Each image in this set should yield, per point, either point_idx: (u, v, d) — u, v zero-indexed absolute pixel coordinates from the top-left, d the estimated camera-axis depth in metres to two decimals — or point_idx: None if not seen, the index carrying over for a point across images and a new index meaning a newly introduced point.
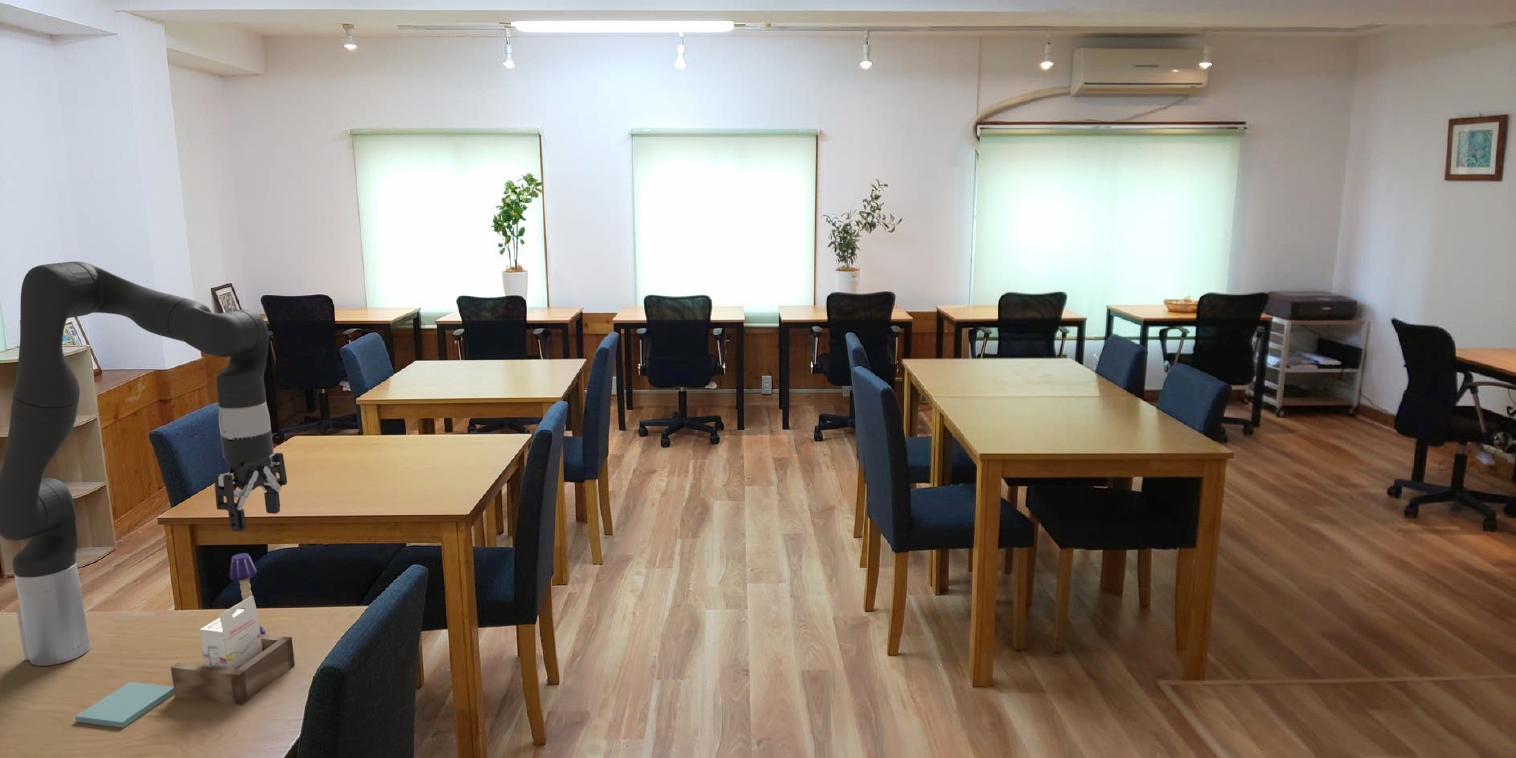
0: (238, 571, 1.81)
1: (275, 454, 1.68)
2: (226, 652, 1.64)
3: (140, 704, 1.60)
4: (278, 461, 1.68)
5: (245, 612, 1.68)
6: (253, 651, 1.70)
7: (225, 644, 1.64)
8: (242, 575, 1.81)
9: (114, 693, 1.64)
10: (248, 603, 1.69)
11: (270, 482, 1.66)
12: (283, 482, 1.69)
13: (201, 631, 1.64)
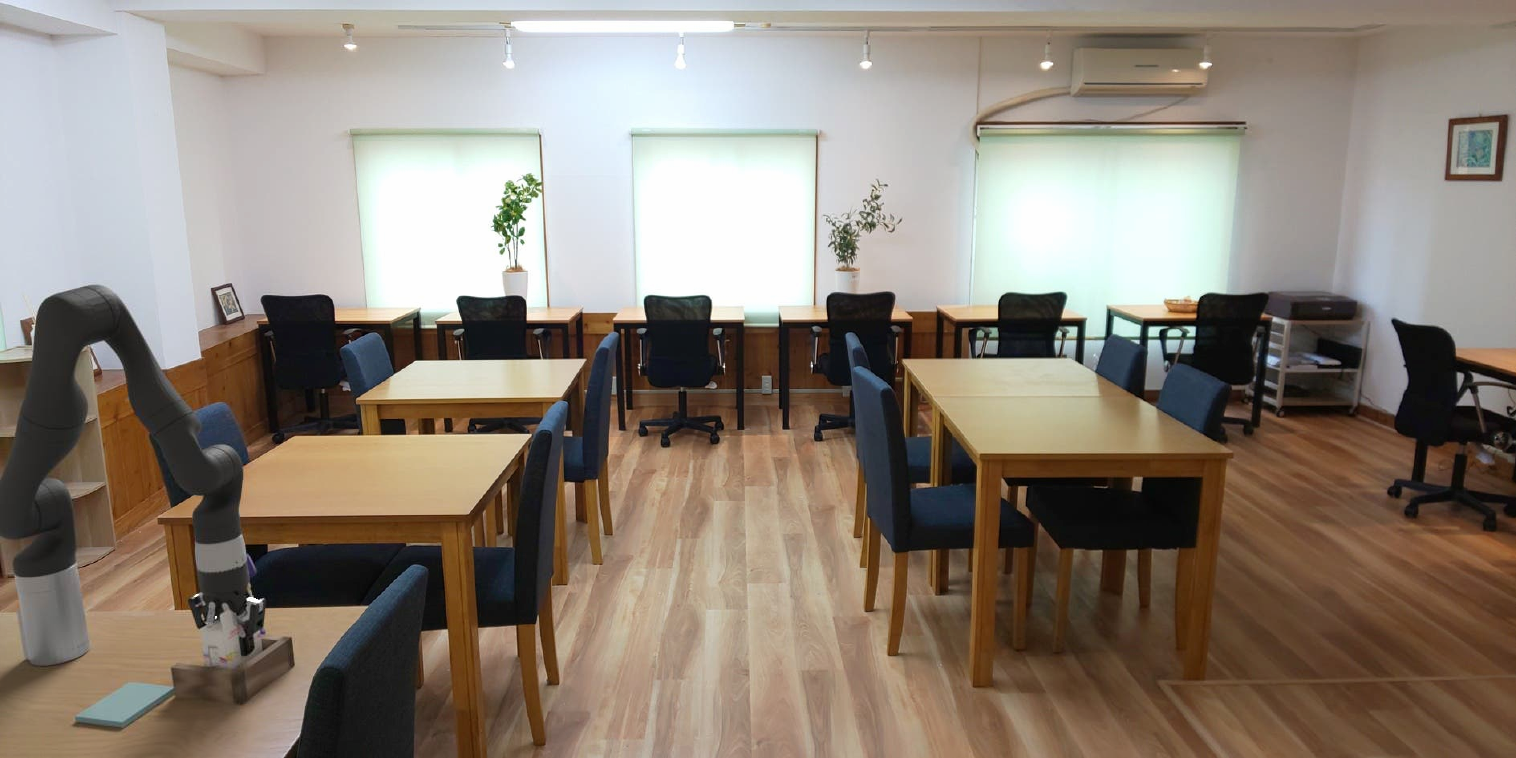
0: None
1: (199, 594, 1.68)
2: (226, 652, 1.64)
3: (140, 704, 1.60)
4: None
5: None
6: (253, 651, 1.70)
7: (225, 644, 1.64)
8: None
9: (114, 693, 1.64)
10: None
11: None
12: None
13: (201, 631, 1.64)
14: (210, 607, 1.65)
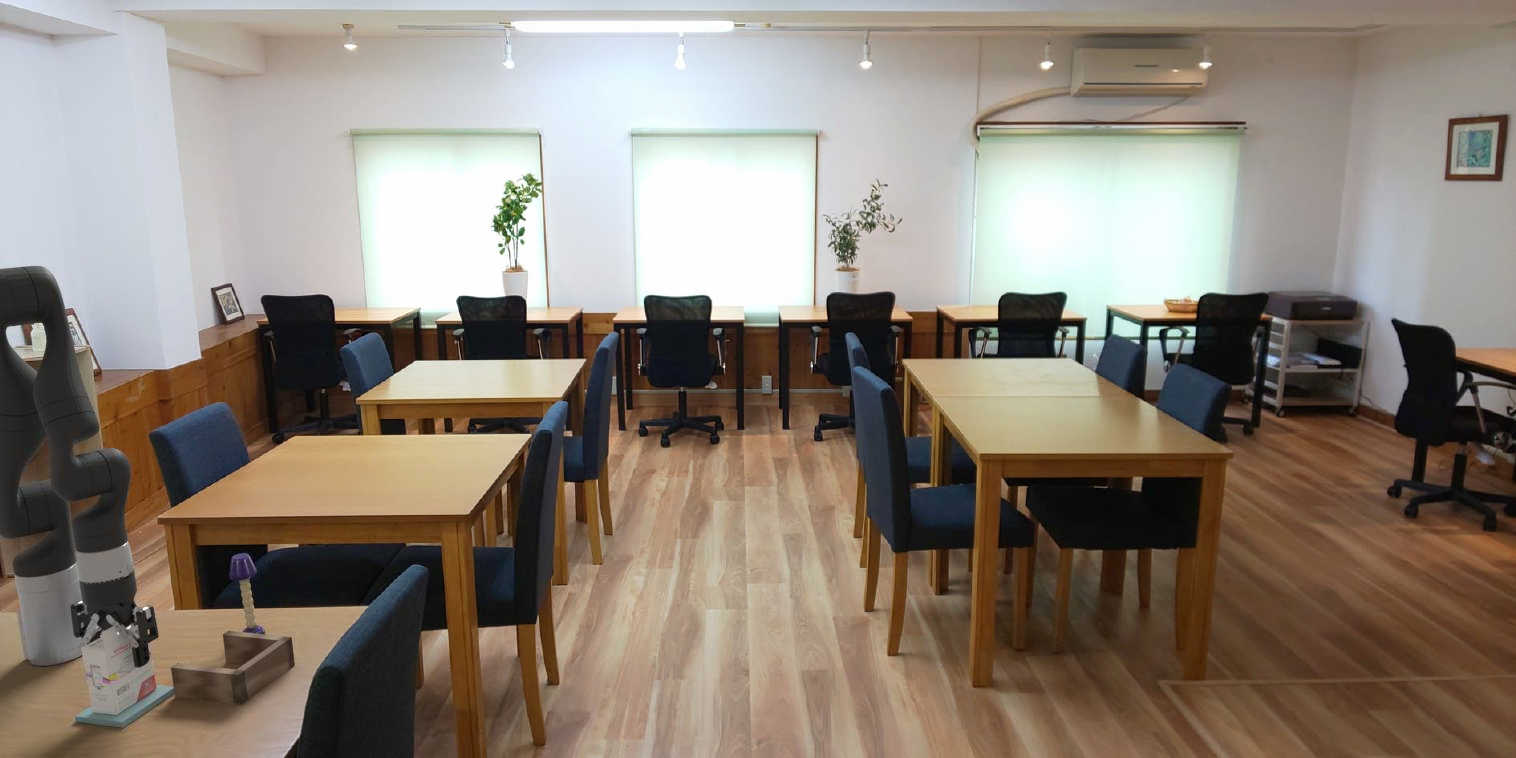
0: (238, 571, 1.81)
1: None
2: (109, 672, 1.56)
3: (140, 704, 1.60)
4: None
5: None
6: (142, 670, 1.62)
7: (108, 663, 1.55)
8: (242, 575, 1.81)
9: None
10: None
11: None
12: None
13: (83, 649, 1.56)
14: (93, 618, 1.57)
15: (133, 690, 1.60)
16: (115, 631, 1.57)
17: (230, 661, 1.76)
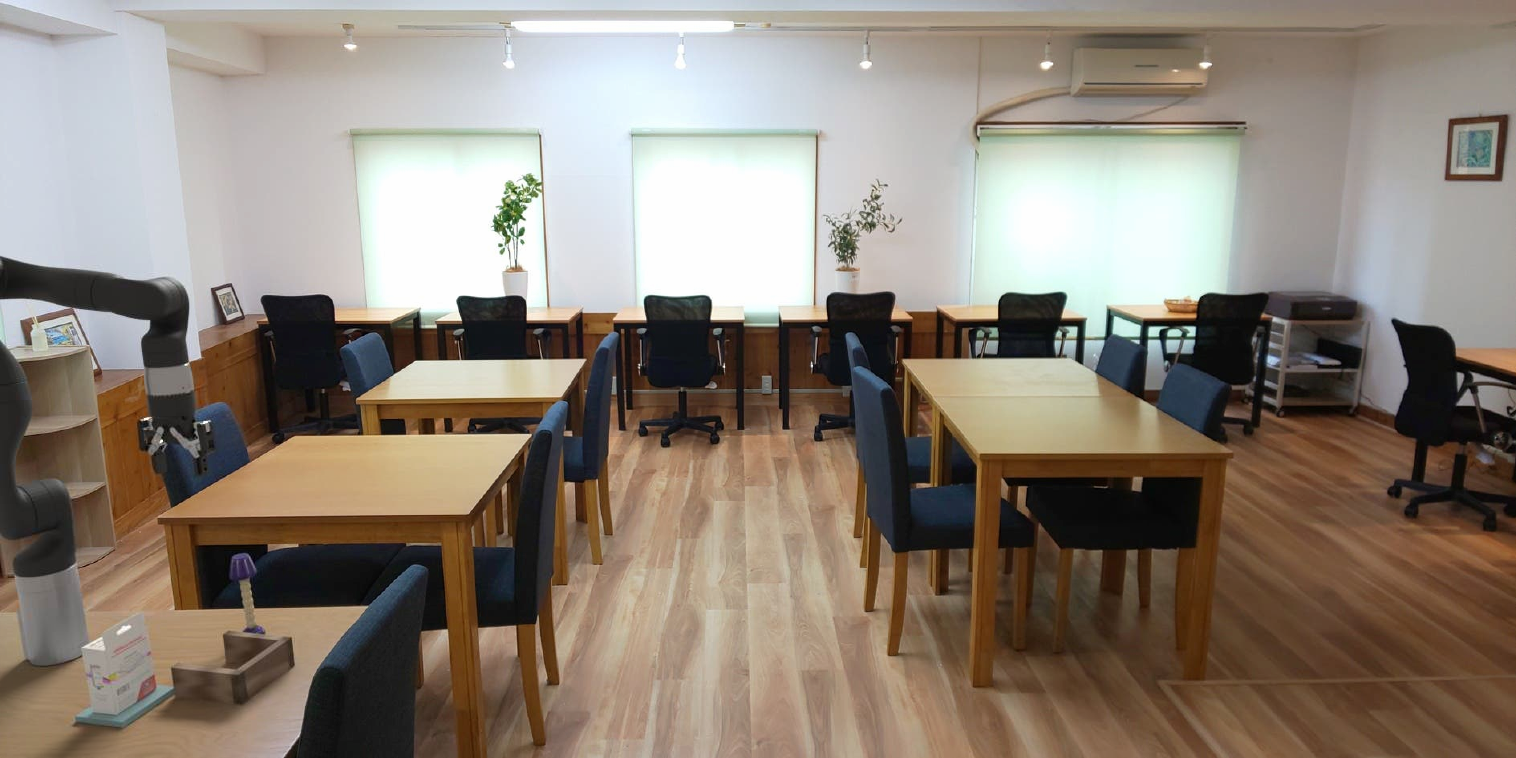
0: (238, 571, 1.81)
1: (148, 418, 1.77)
2: (109, 672, 1.56)
3: (140, 704, 1.60)
4: None
5: (132, 629, 1.60)
6: (142, 670, 1.62)
7: (108, 663, 1.55)
8: (242, 575, 1.81)
9: None
10: (136, 619, 1.61)
11: None
12: None
13: (83, 649, 1.56)
14: (158, 431, 1.74)
15: (133, 690, 1.60)
16: (115, 631, 1.57)
17: (230, 661, 1.76)
